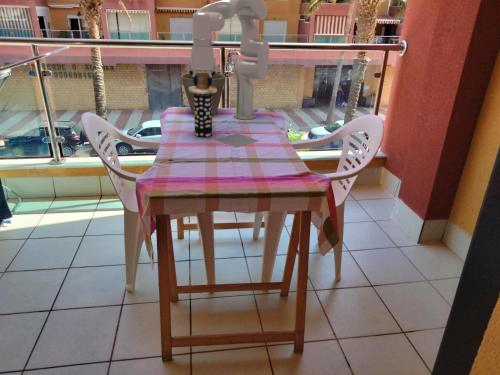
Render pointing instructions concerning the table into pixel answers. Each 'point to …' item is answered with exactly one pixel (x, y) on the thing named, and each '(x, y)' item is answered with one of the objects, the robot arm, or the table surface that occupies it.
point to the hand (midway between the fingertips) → (202, 85)
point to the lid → (202, 86)
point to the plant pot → (217, 82)
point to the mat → (236, 140)
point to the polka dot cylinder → (203, 115)
